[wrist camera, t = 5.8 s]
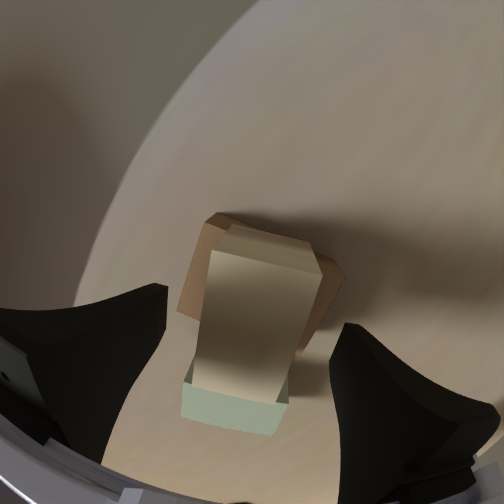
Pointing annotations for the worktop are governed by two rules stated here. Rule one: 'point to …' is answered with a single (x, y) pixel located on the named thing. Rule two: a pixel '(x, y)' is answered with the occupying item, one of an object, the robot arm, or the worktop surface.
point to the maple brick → (254, 313)
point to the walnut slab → (200, 264)
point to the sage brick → (232, 408)
